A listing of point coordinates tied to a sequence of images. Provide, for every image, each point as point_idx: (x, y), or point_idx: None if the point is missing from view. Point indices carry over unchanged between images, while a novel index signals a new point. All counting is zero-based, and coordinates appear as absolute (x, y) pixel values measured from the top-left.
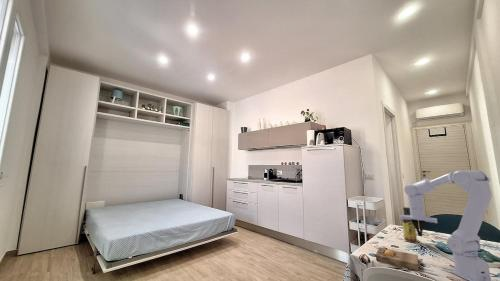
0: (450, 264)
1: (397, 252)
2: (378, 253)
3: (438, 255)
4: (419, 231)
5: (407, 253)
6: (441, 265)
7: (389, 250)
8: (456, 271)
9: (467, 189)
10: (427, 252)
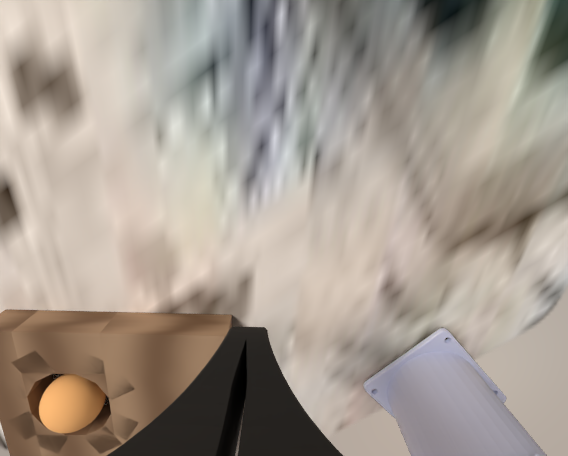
0: (391, 276)
1: (108, 362)
2: (16, 437)
3: (357, 138)
4: (240, 400)
5: (167, 345)
6: (341, 319)
7: (60, 423)
8: (390, 404)
9: None
10: (291, 109)
